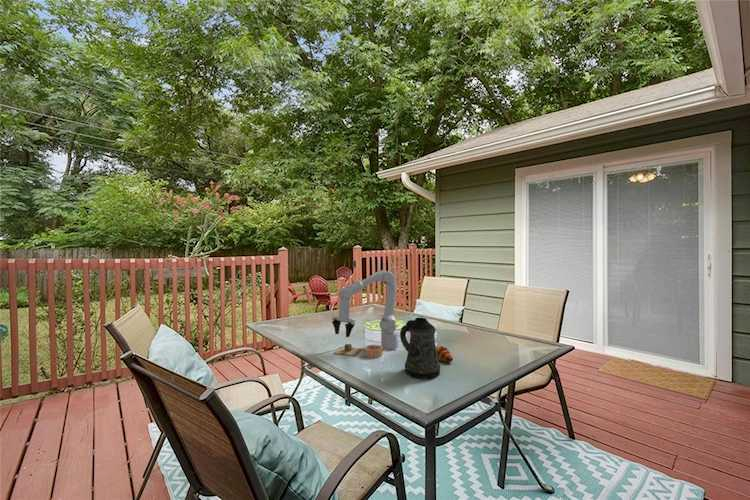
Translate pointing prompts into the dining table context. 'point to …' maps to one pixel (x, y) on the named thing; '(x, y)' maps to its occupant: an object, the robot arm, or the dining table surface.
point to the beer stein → (420, 349)
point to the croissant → (443, 354)
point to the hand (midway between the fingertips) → (342, 335)
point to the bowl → (373, 351)
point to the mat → (348, 355)
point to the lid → (348, 350)
